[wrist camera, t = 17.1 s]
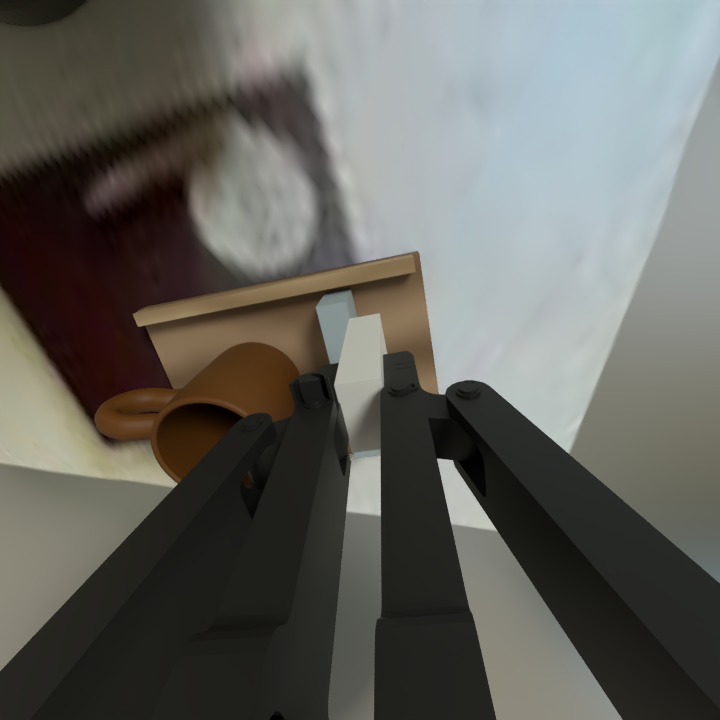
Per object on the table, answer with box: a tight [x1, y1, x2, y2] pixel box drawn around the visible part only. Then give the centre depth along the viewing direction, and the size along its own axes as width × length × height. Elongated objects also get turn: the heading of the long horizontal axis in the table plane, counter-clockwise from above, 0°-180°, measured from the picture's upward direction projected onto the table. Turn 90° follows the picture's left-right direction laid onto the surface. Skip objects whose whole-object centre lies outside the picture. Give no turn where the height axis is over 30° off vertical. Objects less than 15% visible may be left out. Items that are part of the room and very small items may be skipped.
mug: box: [95, 342, 300, 487], centre depth 26 cm, size 12×8×9 cm, turn 81°
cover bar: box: [316, 289, 380, 458], centre depth 27 cm, size 12×2×4 cm, turn 12°
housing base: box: [133, 251, 439, 454], centre depth 30 cm, size 15×22×3 cm
